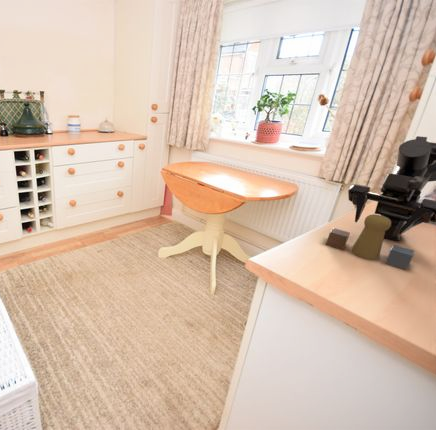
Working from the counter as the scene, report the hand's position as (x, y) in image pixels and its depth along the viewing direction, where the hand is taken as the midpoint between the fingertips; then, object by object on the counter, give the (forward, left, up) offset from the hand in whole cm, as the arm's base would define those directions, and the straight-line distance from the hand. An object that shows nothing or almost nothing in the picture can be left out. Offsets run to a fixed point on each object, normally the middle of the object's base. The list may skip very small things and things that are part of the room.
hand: (376, 227), depth 76 cm
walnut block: (+2, -7, -7) cm, 10 cm away
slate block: (+2, +6, -7) cm, 10 cm away
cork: (+2, 0, -8) cm, 8 cm away
